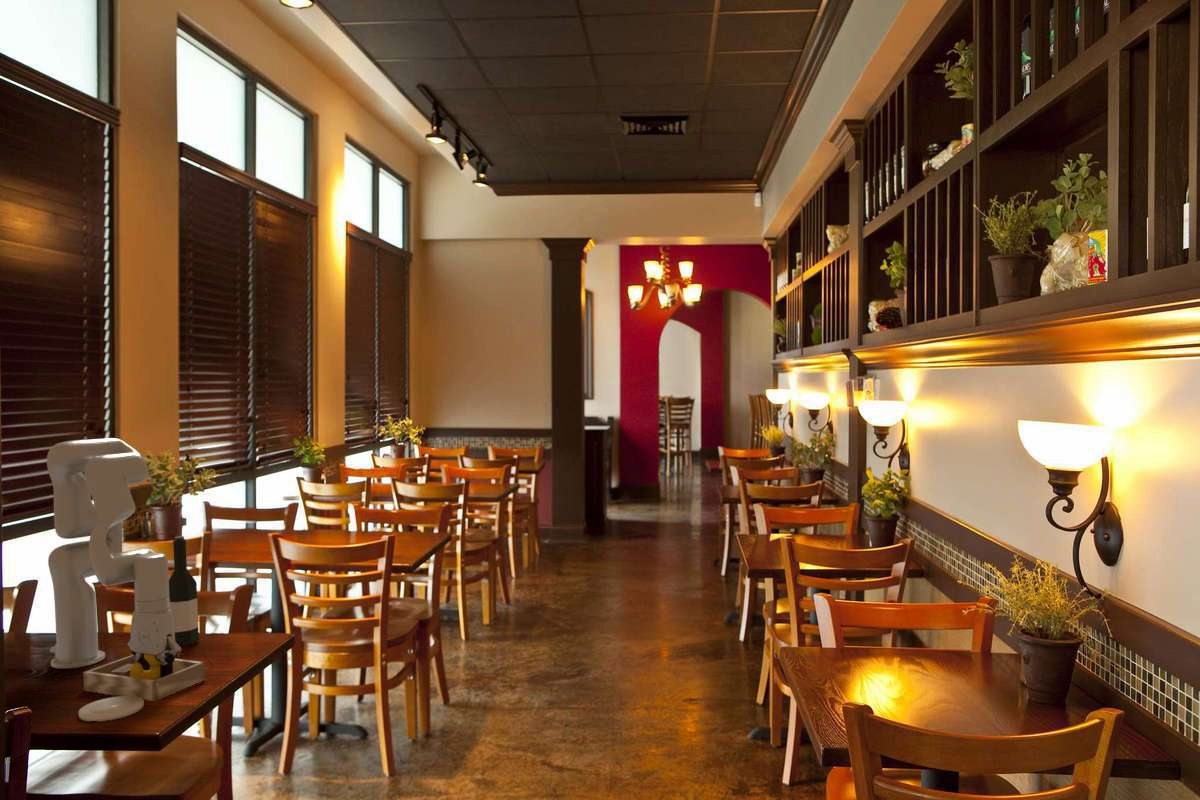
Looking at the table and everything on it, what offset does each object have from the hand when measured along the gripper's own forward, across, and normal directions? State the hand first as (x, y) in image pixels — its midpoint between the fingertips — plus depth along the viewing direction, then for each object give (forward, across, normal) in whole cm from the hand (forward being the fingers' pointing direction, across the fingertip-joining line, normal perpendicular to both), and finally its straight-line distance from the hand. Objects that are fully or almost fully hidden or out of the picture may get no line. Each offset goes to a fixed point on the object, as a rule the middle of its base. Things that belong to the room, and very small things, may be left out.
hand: (155, 677), depth 223 cm
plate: (+2, +3, -15) cm, 16 cm away
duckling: (+2, 0, 0) cm, 2 cm away
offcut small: (+1, -10, 0) cm, 10 cm away
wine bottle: (+3, -23, +30) cm, 38 cm away
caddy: (+2, -3, 0) cm, 4 cm away
